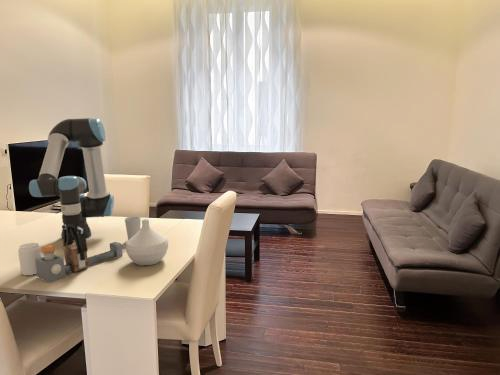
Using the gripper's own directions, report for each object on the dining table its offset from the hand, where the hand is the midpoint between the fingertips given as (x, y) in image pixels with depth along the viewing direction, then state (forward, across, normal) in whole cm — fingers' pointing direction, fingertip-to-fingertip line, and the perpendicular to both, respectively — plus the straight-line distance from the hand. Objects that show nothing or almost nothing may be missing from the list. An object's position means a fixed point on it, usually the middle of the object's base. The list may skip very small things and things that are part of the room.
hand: (76, 265), depth 176 cm
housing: (+2, 0, -11) cm, 11 cm away
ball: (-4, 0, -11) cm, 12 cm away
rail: (+2, 0, +7) cm, 7 cm away
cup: (+2, -13, +40) cm, 42 cm away
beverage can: (+2, -12, -13) cm, 18 cm away
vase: (+2, +19, +23) cm, 30 cm away
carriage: (+2, 0, 0) cm, 2 cm away
